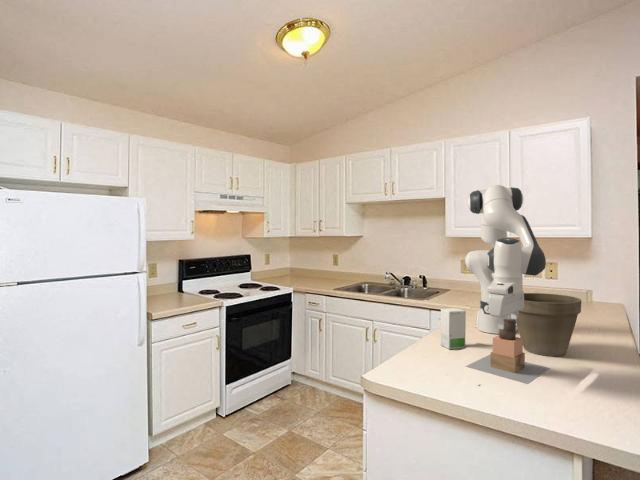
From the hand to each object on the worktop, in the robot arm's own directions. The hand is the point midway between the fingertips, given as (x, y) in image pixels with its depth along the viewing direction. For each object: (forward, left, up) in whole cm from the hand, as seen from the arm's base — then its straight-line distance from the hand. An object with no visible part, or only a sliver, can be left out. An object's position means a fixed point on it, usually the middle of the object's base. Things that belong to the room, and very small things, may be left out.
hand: (507, 326), depth 127 cm
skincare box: (-12, -27, -16) cm, 33 cm away
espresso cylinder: (0, 0, -4) cm, 4 cm away
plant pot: (-34, 0, -16) cm, 37 cm away
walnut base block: (0, 0, -14) cm, 14 cm away
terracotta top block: (0, 0, -9) cm, 9 cm away
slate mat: (0, 0, -16) cm, 16 cm away
